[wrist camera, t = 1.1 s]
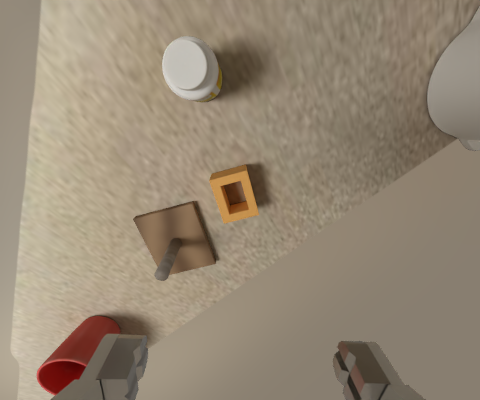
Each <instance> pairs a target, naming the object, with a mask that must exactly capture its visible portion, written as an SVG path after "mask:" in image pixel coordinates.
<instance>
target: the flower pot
mask: <svg viewBox="0 0 480 400" xmlns="http://www.w3.org/2000/svg"><path fill="white" fill-rule="evenodd" d="M106 334H120V328H119V326H118V324H117V323H116V322H115V321H113V320H112V319H110V318H107V317H103V316H93V317H90V318H88V319H86V320H85V321H84V322H83V323H82V324H81V325H79V326H78V327H77V328H76V329H75V330H74V331H73V332H72V333H71V335H70V336H69V337H68V338H67V339H66V340H65V341H64V342H63V343H62V344H61V345H60V346H59V347H58V348H57V349H56V350H55V351H54V352H53V353H52V355H51V356H50V357H49V358H48V359H47V360H46V361H45V362H44V363H43V364H42V365H41V366H40V368H39V369H38V371H37V380H38V382H39V384H40V385H41V387H42V388H44V389H45V390H46V391H48V392H49V393H51V394H53V395H57V394H58V393H59V392H60V391H62V390H63V389H64V388H65V387H66V386H68V385H69V384H70V383H71V382H72V381H74V380H79V379H80V377H81V375H82V373H83V372H84V370H85V368H86V366H87V365H88V363H89V361H90V359H91V358H92V356H93V354H94V352H95V351H96V349H97V347H98V346H99V344H100V342H101V340H102V339H103V337H104V336H105V335H106Z"/></svg>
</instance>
